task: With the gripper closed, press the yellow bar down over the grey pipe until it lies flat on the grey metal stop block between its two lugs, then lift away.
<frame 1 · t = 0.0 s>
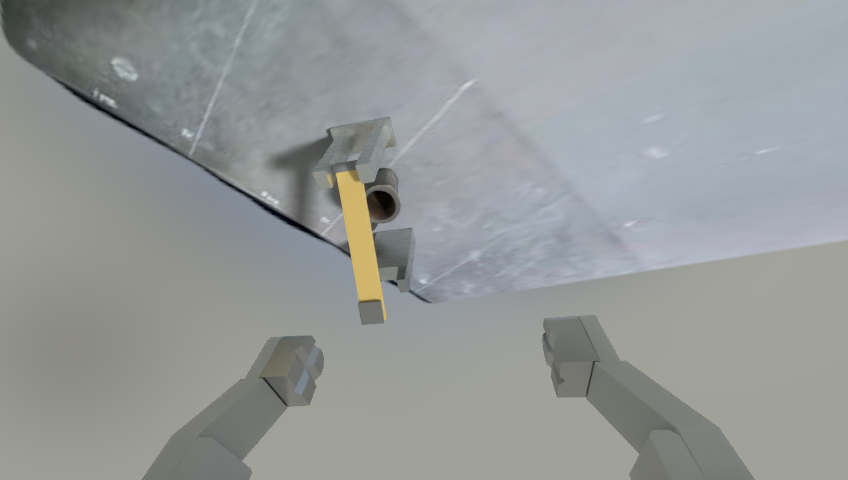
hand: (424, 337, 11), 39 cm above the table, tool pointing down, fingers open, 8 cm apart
pipe: (382, 191, 52), on the table
grey slotted stand: (364, 135, 46), on the table
yellow bar: (361, 244, 39), point 16 cm above the table, hinge at 30.0°
stop block: (396, 236, 58), on the table
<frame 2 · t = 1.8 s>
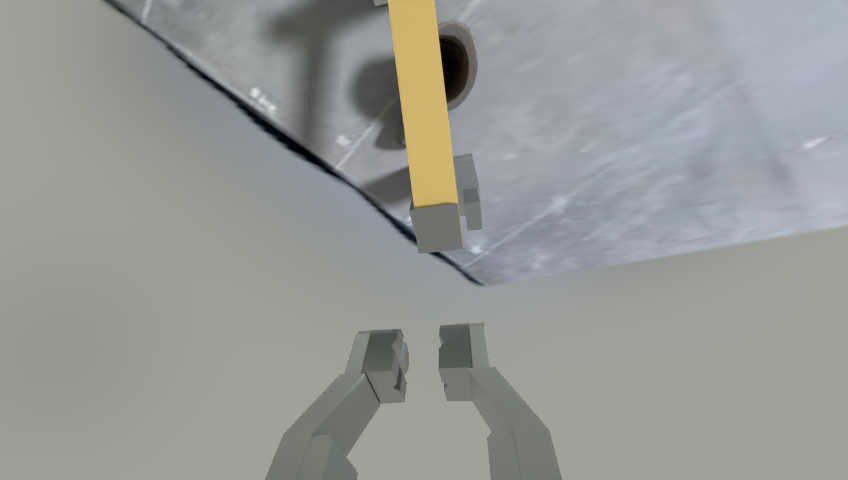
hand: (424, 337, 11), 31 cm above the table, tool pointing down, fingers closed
pipe: (432, 87, 34), on the table
yellow bar: (422, 94, 20), point 16 cm above the table, hinge at 30.0°
stop block: (446, 169, 39), on the table
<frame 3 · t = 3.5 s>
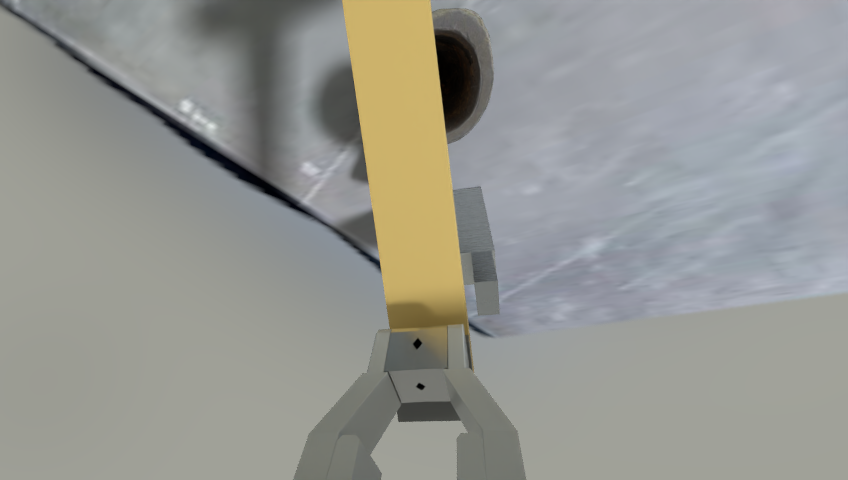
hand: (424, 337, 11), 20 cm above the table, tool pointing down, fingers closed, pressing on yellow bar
pipe: (426, 102, 25), on the table
yellow bar: (404, 136, 11), point 15 cm above the table, hinge at 28.7°, touching gripper
stop block: (446, 205, 30), on the table
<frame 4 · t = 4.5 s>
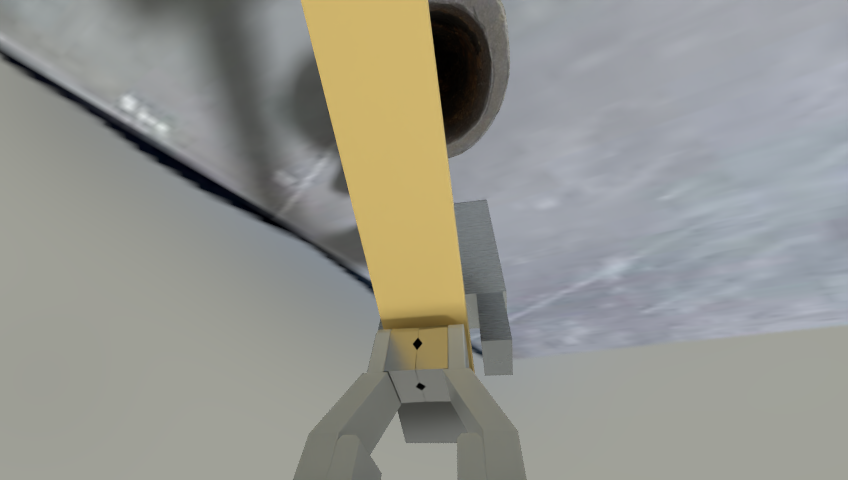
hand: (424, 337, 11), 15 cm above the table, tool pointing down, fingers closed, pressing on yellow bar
pipe: (421, 101, 20), on the table
yellow bar: (396, 169, 9), point 13 cm above the table, hinge at 14.7°, touching gripper
stop block: (445, 220, 26), on the table
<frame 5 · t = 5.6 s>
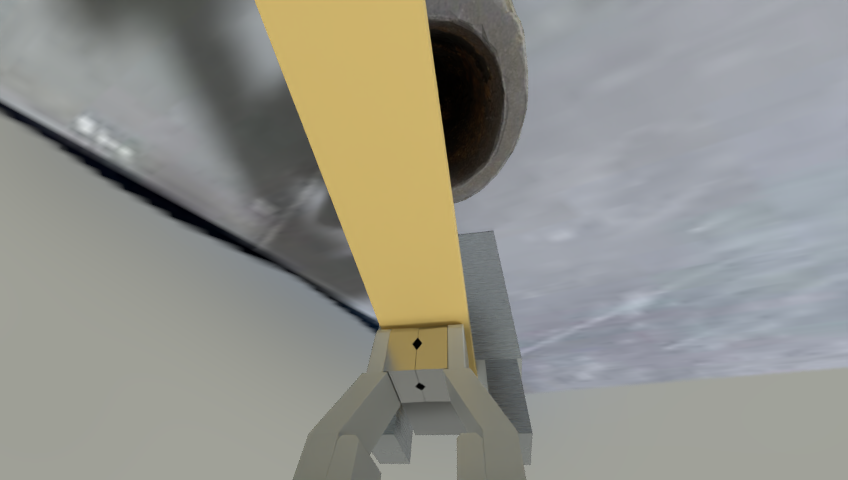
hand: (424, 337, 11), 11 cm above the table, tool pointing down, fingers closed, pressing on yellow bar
pipe: (418, 125, 18), on the table
yellow bar: (397, 214, 8), point 11 cm above the table, hinge at 1.8°, touching gripper
stop block: (447, 252, 23), on the table
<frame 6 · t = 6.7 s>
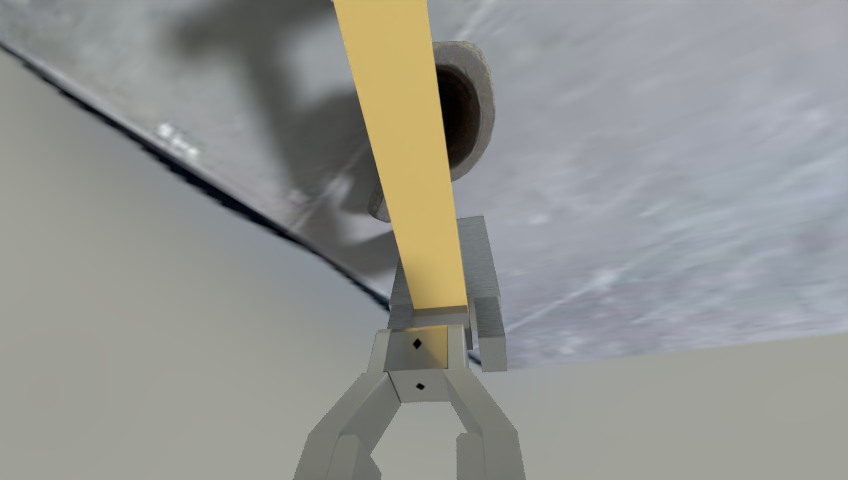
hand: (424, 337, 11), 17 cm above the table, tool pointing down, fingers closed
pipe: (422, 132, 23), on the table
yellow bar: (415, 176, 13), point 11 cm above the table, hinge at 1.7°
stop block: (446, 234, 28), on the table
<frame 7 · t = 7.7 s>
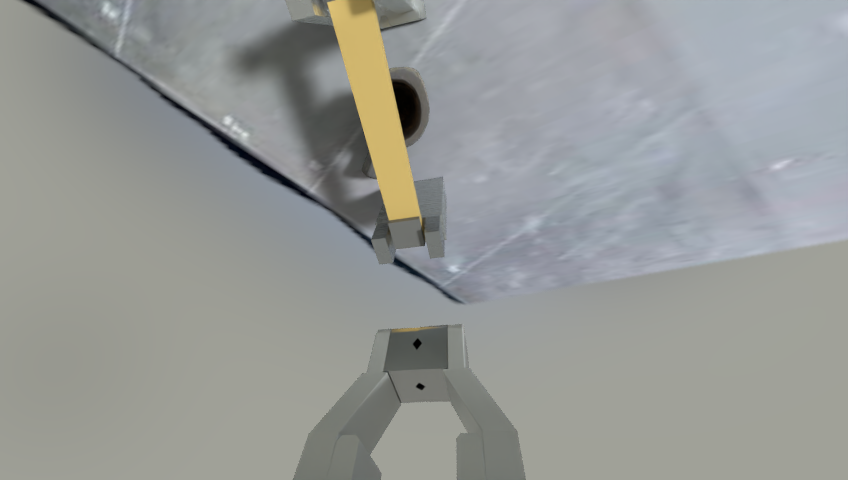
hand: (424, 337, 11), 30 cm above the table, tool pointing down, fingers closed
pipe: (397, 119, 35), on the table
grey slotted stand: (377, 4, 29), on the table
yellow bar: (384, 137, 25), point 11 cm above the table, hinge at 1.7°
stop block: (418, 191, 40), on the table
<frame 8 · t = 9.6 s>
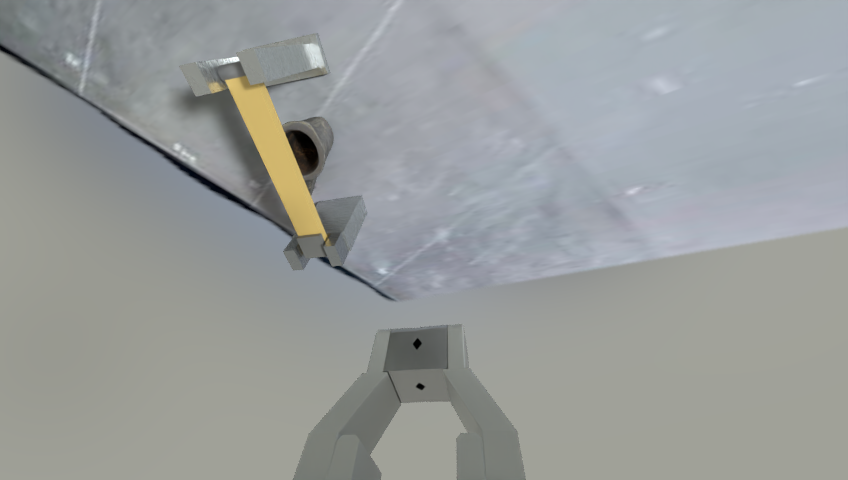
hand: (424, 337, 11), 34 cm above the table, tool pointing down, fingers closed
pipe: (317, 150, 42), on the table
grey slotted stand: (289, 61, 36), on the table
yellow bar: (284, 174, 33), point 11 cm above the table, hinge at 1.7°
stop block: (343, 207, 47), on the table
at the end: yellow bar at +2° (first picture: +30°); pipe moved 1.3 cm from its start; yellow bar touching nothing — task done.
